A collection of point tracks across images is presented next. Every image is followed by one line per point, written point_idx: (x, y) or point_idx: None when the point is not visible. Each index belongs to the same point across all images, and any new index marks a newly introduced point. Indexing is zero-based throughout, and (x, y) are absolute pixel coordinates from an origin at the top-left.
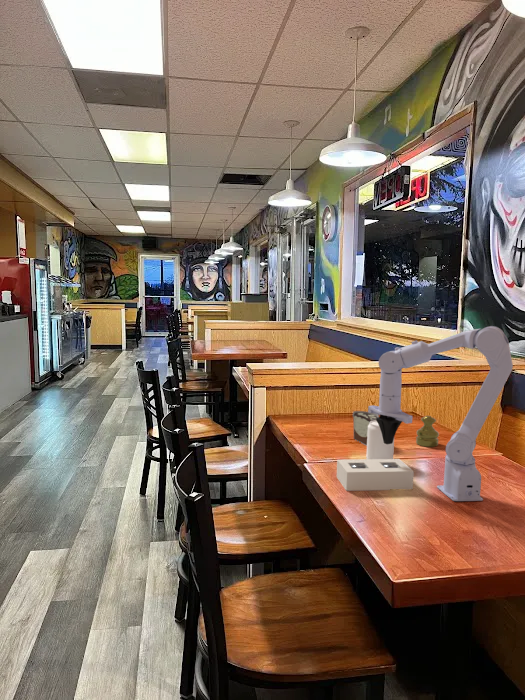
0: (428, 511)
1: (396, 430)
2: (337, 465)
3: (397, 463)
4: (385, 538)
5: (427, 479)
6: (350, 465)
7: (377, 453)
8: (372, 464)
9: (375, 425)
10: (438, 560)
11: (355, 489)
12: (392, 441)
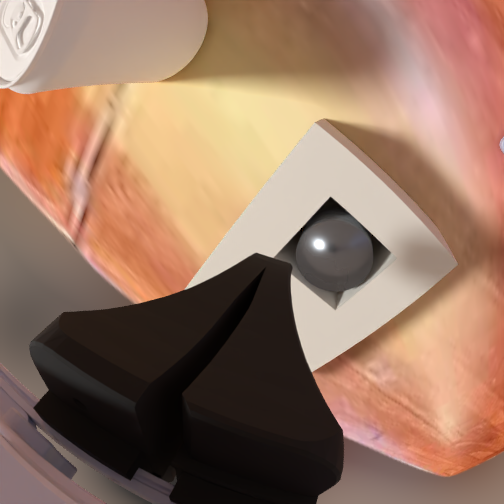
0: (498, 342)
1: (298, 344)
2: None
3: (350, 209)
4: (429, 448)
5: (433, 67)
6: None
7: (149, 72)
8: None
9: (15, 83)
10: (497, 443)
11: None
12: (290, 276)
